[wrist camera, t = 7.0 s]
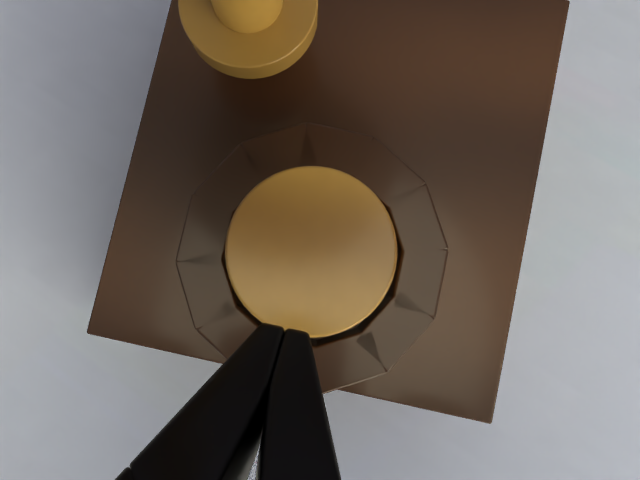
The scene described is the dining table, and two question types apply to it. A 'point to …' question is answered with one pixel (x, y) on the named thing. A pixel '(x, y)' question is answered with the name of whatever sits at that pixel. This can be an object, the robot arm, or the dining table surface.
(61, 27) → the dining table surface
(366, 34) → the lamp base
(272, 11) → the desk lamp
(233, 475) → the robot arm
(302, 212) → the button
